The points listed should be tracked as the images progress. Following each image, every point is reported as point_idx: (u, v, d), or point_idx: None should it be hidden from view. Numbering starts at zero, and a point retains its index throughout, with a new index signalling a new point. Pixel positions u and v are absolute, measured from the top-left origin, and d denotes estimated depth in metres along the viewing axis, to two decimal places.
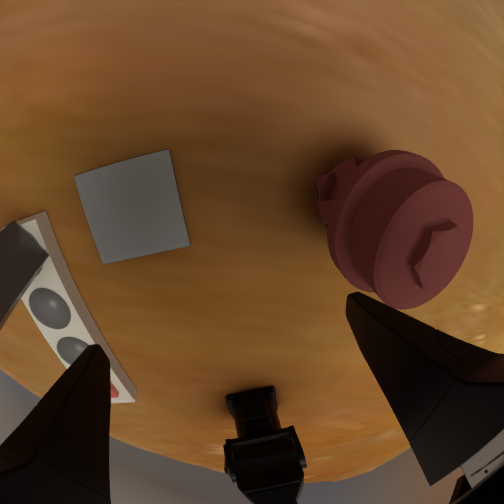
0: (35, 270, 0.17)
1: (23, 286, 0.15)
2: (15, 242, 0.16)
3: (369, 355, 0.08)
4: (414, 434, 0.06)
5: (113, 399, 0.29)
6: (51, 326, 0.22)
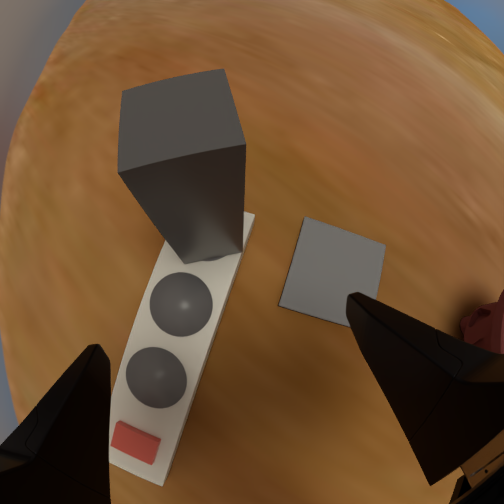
0: (242, 239, 0.19)
1: (242, 228, 0.17)
2: None
3: (369, 355, 0.08)
4: (414, 434, 0.06)
5: (132, 466, 0.17)
6: (160, 324, 0.20)
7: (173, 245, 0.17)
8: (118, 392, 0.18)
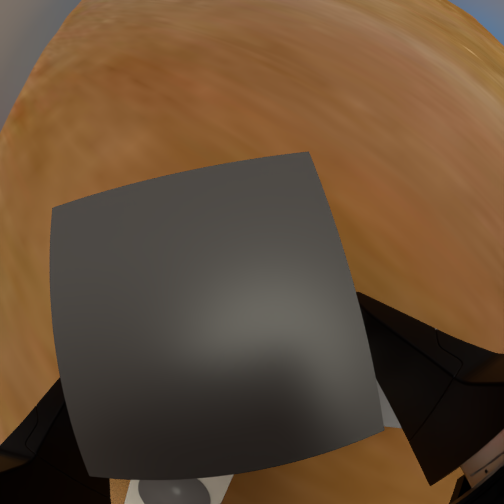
0: None
1: None
2: None
3: None
4: (414, 434, 0.06)
5: None
6: None
7: None
8: (131, 503, 0.12)
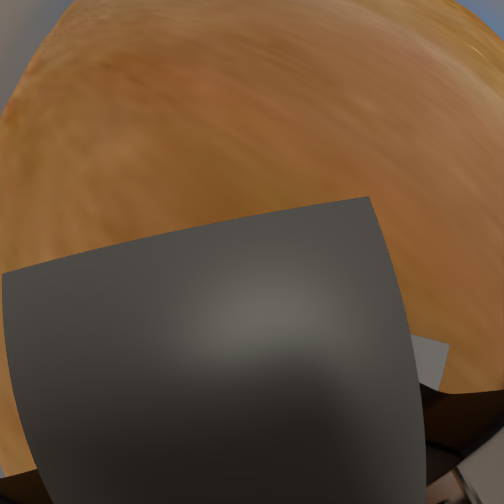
0: None
1: None
2: None
3: None
4: None
5: None
6: None
7: None
8: None
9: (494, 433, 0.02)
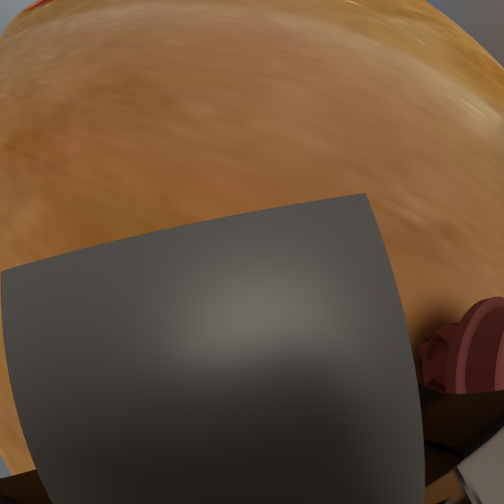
0: None
1: None
2: None
3: None
4: None
5: None
6: None
7: None
8: None
9: (494, 433, 0.02)
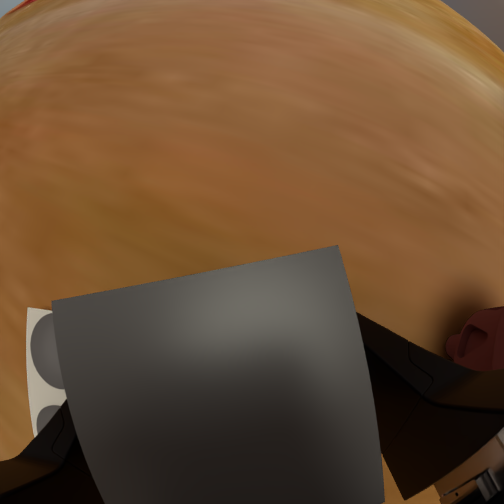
0: None
1: None
2: None
3: None
4: (387, 447, 0.06)
5: None
6: None
7: None
8: None
9: None
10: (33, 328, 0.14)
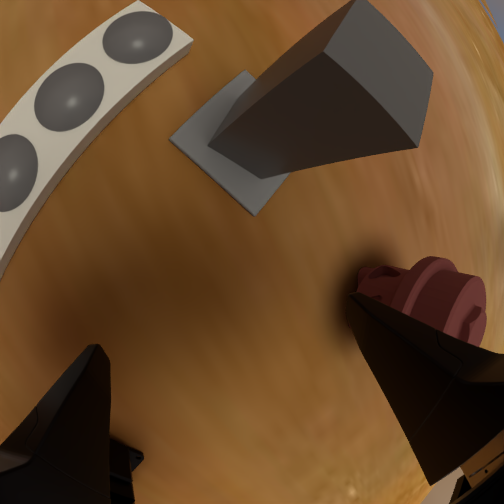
0: (278, 173, 0.18)
1: (296, 169, 0.16)
2: None
3: (369, 355, 0.08)
4: (414, 434, 0.06)
5: None
6: (37, 111, 0.12)
7: (230, 128, 0.14)
8: None
9: None
10: (129, 12, 0.13)
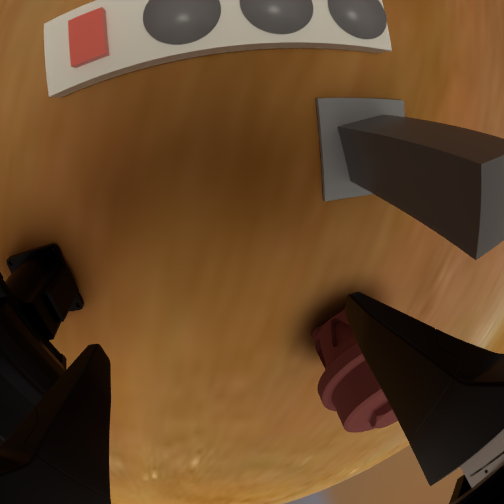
0: (367, 189, 0.19)
1: (384, 199, 0.17)
2: None
3: (369, 355, 0.08)
4: (414, 433, 0.06)
5: (54, 56, 0.12)
6: None
7: (370, 135, 0.15)
8: None
9: None
10: None
